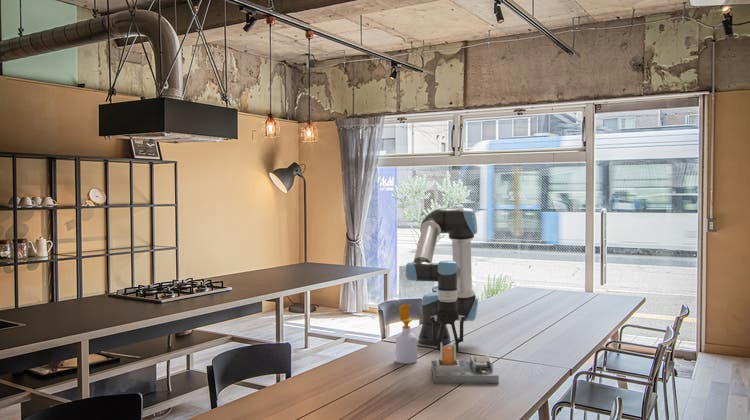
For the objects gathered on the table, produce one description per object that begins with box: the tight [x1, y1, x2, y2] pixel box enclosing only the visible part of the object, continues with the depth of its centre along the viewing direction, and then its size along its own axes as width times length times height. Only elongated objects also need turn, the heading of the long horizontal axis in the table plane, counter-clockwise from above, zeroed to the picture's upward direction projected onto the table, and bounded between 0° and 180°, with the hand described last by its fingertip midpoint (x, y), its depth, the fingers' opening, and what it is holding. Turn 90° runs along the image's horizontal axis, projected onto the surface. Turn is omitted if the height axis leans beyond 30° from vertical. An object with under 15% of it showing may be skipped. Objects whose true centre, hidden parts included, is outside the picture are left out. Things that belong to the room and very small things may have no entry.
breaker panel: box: [430, 355, 500, 385], centre depth 241 cm, size 20×24×6 cm
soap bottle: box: [395, 304, 418, 365], centre depth 262 cm, size 9×9×25 cm
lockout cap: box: [442, 346, 454, 365], centre depth 242 cm, size 5×5×7 cm
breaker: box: [473, 355, 490, 363], centre depth 242 cm, size 9×5×2 cm, turn 178°
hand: (447, 359), depth 242 cm, fingers closed on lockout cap, 4 cm apart
